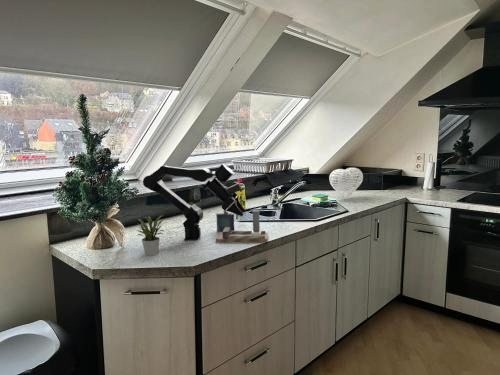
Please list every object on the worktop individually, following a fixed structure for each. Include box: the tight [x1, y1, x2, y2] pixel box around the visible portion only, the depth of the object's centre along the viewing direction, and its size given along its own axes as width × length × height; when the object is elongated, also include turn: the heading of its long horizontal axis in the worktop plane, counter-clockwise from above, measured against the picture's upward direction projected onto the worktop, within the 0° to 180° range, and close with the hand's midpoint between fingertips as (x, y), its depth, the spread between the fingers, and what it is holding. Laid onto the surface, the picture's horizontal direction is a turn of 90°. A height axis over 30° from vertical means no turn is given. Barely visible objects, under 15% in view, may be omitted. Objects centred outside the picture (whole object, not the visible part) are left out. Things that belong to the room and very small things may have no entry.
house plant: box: [136, 214, 166, 256], centre depth 158 cm, size 14×14×16 cm
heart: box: [329, 167, 364, 200], centre depth 272 cm, size 28×16×22 cm, turn 129°
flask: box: [216, 209, 235, 233], centre depth 191 cm, size 9×3×11 cm, turn 72°
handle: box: [251, 209, 262, 235], centre depth 176 cm, size 4×7×11 cm, turn 176°
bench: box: [215, 227, 269, 243], centre depth 177 cm, size 23×11×4 cm, turn 86°
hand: (243, 213), depth 176 cm, fingers open, 9 cm apart
